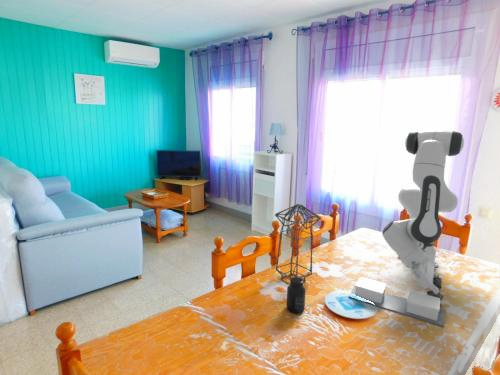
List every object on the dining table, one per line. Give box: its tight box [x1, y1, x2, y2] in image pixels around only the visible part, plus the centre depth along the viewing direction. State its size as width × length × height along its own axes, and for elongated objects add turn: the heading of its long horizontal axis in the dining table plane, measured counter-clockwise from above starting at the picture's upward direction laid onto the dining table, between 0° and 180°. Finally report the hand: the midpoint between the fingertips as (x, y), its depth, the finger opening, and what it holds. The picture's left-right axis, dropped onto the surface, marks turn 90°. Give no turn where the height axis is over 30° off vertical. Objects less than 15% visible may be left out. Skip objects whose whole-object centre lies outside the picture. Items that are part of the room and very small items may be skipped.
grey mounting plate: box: [350, 276, 445, 328], centre depth 123 cm, size 12×33×5 cm, turn 58°
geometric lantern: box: [274, 203, 323, 285], centre depth 137 cm, size 16×16×35 cm
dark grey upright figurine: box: [426, 274, 444, 307], centre depth 124 cm, size 6×6×12 cm
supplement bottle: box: [286, 276, 307, 315], centre depth 117 cm, size 7×7×12 cm
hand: (438, 287), depth 124 cm, fingers open, 8 cm apart
